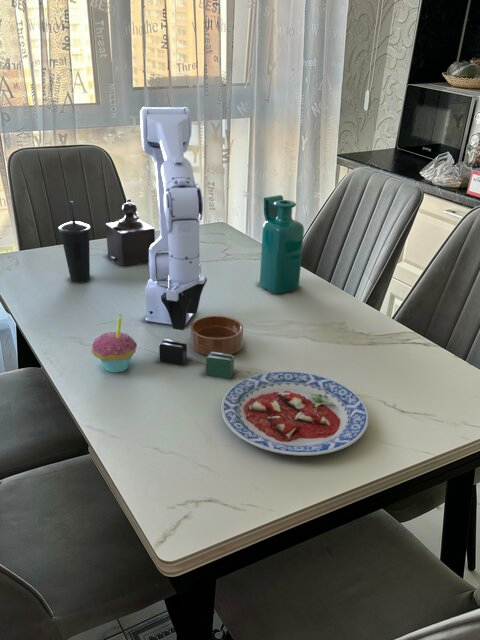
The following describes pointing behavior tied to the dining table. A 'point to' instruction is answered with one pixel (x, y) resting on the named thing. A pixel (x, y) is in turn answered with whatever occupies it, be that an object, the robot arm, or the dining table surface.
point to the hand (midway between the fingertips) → (185, 320)
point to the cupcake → (114, 349)
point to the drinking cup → (76, 248)
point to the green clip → (220, 365)
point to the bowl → (216, 335)
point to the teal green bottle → (280, 246)
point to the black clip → (173, 352)
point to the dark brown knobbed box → (129, 238)
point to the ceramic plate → (294, 413)
